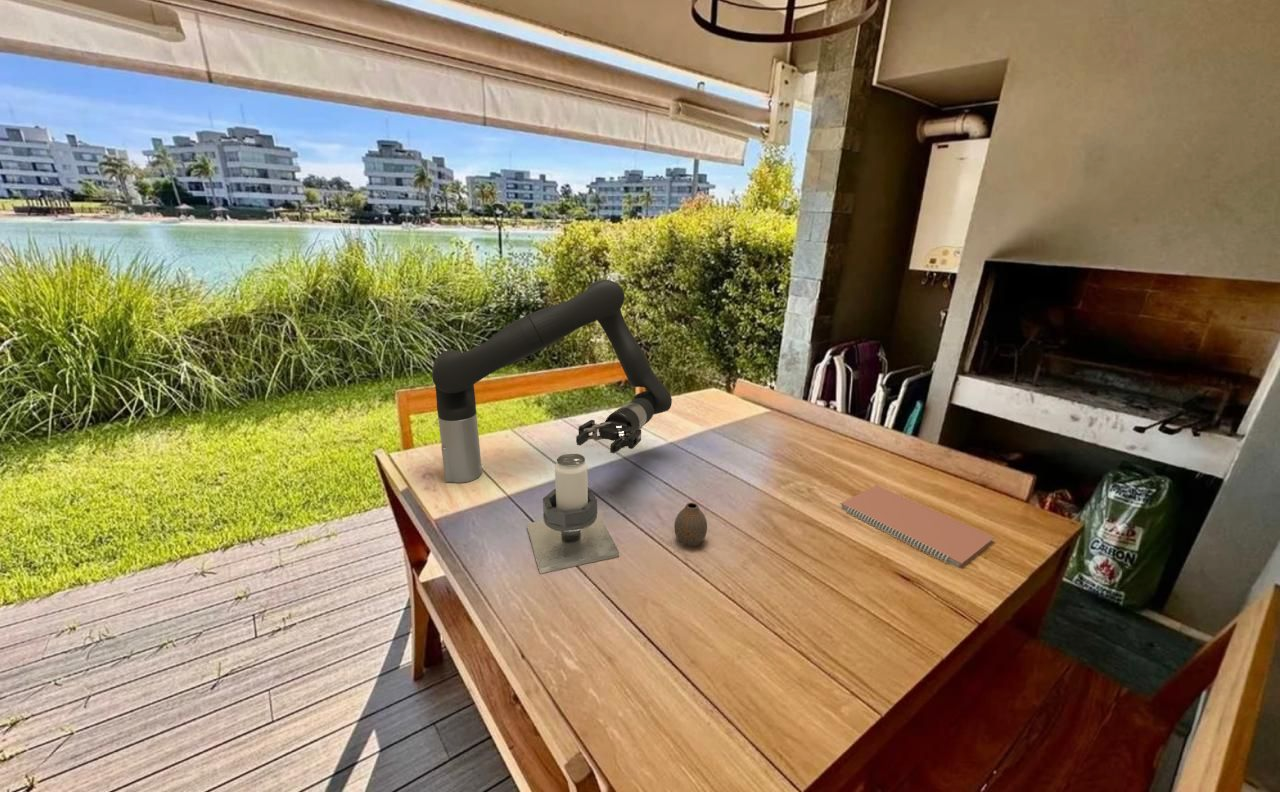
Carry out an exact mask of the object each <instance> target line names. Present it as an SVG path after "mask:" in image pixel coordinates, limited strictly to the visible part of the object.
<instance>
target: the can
mask: <svg viewBox="0 0 1280 792" xmlns="http://www.w3.org/2000/svg"><path fill="white" fill-rule="evenodd" d="M554 478H555V479H554V480H555V482H554V483H555V489H556V508H557V509H561V510H564V511H570V510H575V509H581V508H583V507H584V506H586V505H587V504H588V490H589V488H588V485H589V484H588V464H587V462H586V458H585V456H584V455H582V454H580V453H571V452H570V453H565V454H561V455H560V456H558V457H557V458H556V464H555V466H554Z"/></svg>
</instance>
